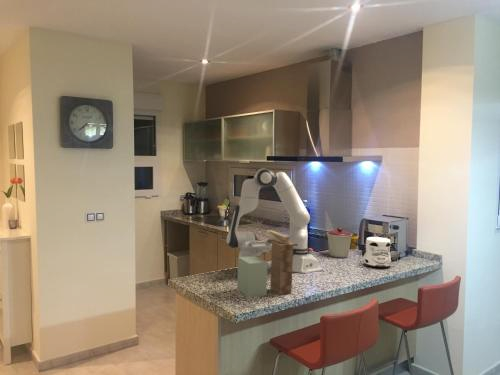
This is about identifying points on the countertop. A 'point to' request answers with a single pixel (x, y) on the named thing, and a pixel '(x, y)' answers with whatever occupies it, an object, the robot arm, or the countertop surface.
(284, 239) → the beech bar
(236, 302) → the countertop surface
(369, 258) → the white piece
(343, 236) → the canister
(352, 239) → the condiment
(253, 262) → the sage box
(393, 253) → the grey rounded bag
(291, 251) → the walnut stand
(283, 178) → the robot arm
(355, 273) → the countertop surface
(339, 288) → the countertop surface
